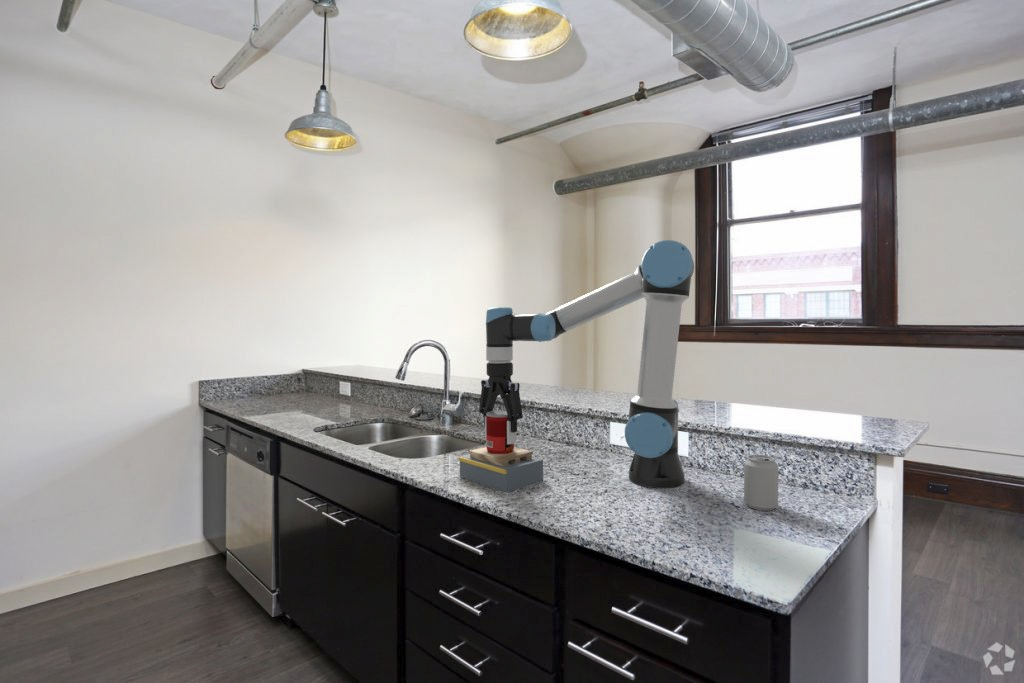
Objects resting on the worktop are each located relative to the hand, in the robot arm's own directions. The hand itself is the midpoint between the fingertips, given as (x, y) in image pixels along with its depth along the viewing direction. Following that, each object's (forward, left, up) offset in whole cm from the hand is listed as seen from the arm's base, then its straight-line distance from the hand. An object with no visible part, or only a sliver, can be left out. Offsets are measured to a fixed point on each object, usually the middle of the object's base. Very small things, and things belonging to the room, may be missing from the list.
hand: (500, 440), depth 152 cm
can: (-61, -29, -11) cm, 69 cm away
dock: (0, 0, -11) cm, 11 cm away
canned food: (0, 0, -3) cm, 3 cm away
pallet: (0, 0, -5) cm, 5 cm away
